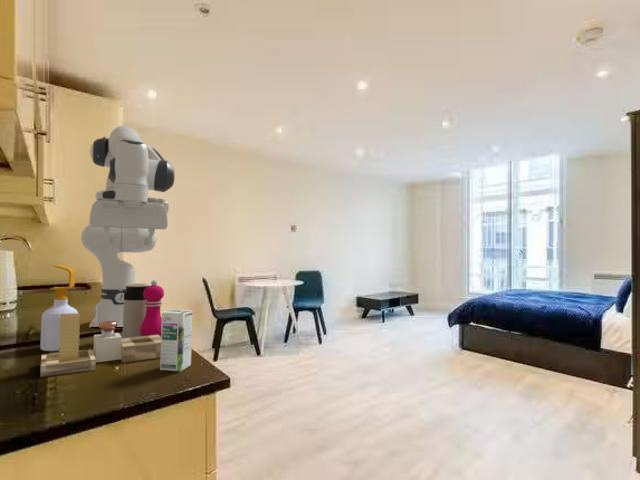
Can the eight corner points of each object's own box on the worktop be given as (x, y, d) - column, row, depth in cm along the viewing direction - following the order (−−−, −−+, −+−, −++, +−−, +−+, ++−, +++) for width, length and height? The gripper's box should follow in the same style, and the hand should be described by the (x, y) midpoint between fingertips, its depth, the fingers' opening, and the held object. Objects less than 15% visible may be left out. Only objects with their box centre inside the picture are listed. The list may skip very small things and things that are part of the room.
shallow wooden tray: (41, 364, 97) (41, 355, 97) (91, 358, 104) (91, 349, 104) (40, 377, 88) (40, 366, 88) (95, 369, 95) (95, 359, 95)
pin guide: (93, 357, 105) (94, 335, 105) (117, 354, 109) (118, 332, 109) (95, 362, 100) (96, 339, 100) (120, 359, 104) (121, 336, 104)
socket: (117, 352, 110) (117, 338, 110) (157, 347, 116) (158, 334, 116) (122, 362, 101) (123, 347, 101) (166, 356, 107) (167, 342, 107)
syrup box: (158, 370, 95) (160, 311, 95) (171, 363, 101) (173, 308, 101) (180, 372, 94) (182, 312, 95) (191, 365, 100) (193, 309, 100)
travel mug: (150, 340, 126) (152, 285, 126) (123, 342, 121) (125, 285, 122) (147, 335, 132) (148, 283, 133) (121, 337, 128) (123, 283, 129)
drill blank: (58, 362, 97) (60, 314, 97) (77, 359, 99) (79, 313, 99) (58, 366, 93) (60, 316, 94) (78, 363, 96) (80, 315, 96)
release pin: (96, 355, 105) (98, 322, 105) (114, 353, 108) (116, 320, 108) (98, 359, 101) (99, 324, 102) (117, 357, 104) (118, 323, 104)
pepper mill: (155, 347, 116) (157, 281, 117) (134, 346, 118) (136, 280, 118) (169, 342, 123) (171, 279, 124) (149, 340, 125) (151, 279, 125)
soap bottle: (46, 344, 117) (50, 264, 118) (81, 343, 120) (84, 264, 120) (34, 352, 108) (38, 265, 109) (72, 350, 111) (75, 265, 112)
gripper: (166, 200, 119) (164, 244, 119) (89, 193, 108) (87, 242, 108) (171, 198, 114) (169, 245, 114) (91, 191, 103) (89, 243, 102)
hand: (129, 244), depth 111 cm, fingers open, 8 cm apart
